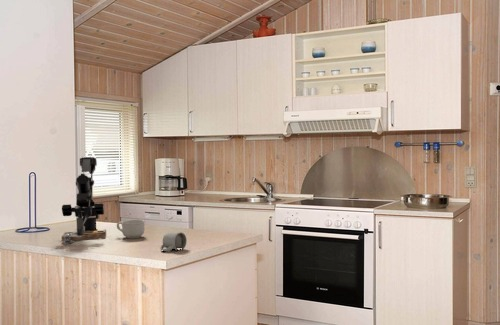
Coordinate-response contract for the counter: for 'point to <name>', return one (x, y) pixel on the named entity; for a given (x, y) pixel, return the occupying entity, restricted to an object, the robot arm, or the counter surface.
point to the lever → (79, 231)
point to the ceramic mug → (173, 241)
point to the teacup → (132, 228)
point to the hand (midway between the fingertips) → (82, 223)
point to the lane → (88, 235)
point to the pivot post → (67, 241)
